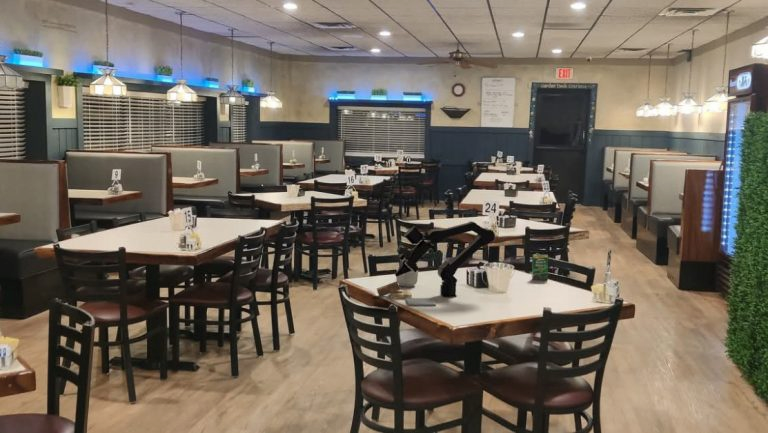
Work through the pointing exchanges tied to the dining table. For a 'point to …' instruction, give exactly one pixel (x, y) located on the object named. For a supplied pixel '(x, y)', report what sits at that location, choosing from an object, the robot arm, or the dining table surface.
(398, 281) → the teacup
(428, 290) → the dining table surface
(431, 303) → the grey mat
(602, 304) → the dining table surface
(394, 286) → the walnut block
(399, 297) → the oak holder
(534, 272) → the coffee box
